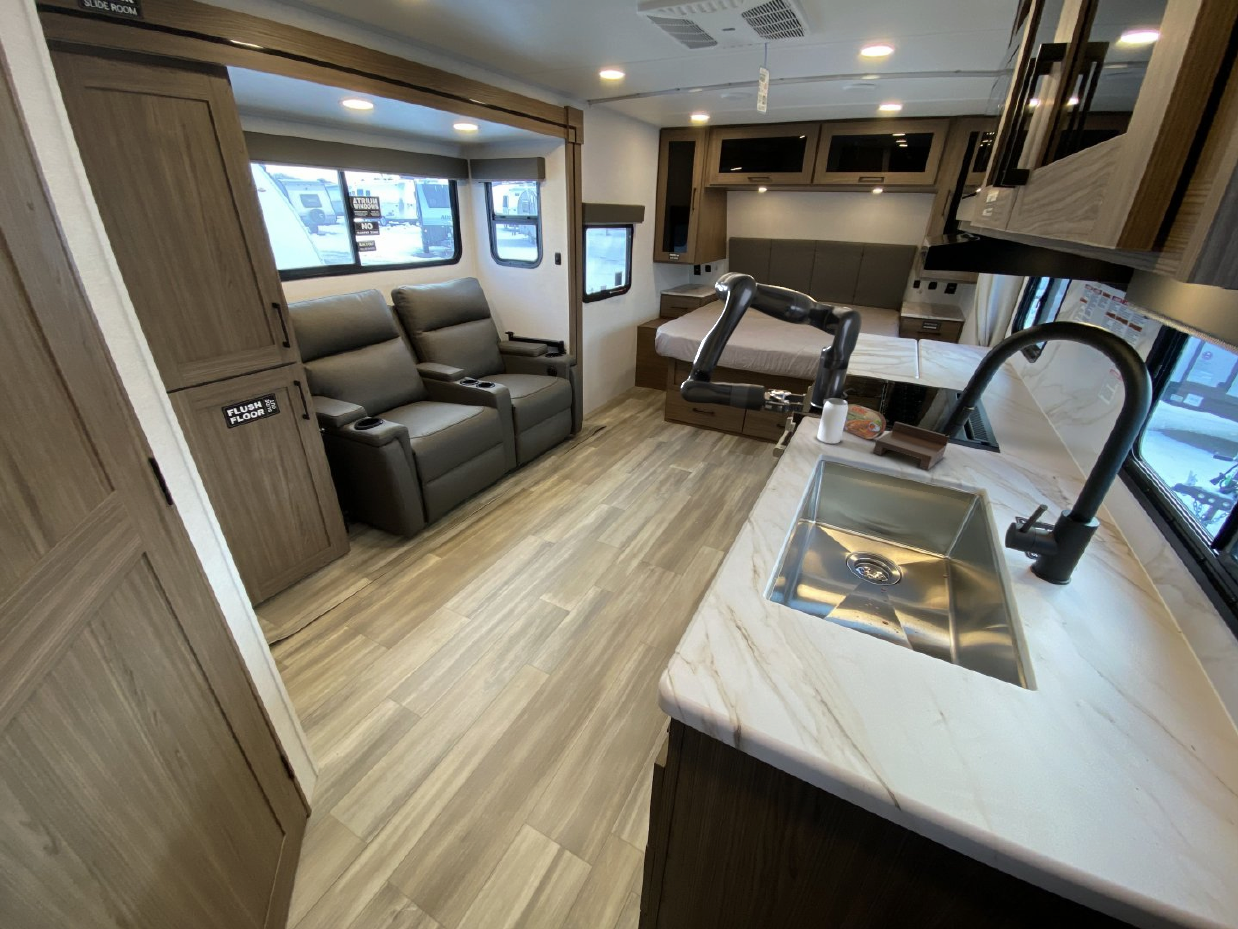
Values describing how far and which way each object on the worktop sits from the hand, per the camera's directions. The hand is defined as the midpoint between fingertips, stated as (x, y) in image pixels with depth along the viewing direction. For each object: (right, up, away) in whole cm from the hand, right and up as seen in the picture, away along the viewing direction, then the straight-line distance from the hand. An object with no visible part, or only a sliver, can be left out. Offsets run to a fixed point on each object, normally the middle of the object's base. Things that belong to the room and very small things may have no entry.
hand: (803, 403), depth 143 cm
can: (+8, -11, +2) cm, 14 cm away
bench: (+26, -15, -7) cm, 31 cm away
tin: (+19, -9, +7) cm, 22 cm away
